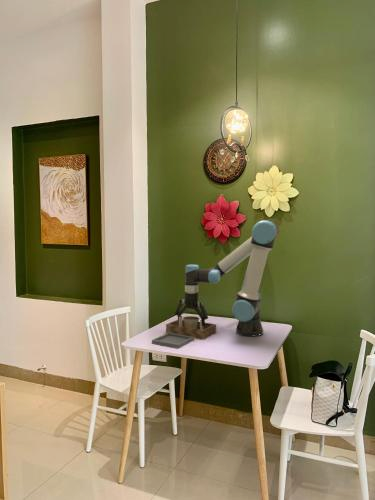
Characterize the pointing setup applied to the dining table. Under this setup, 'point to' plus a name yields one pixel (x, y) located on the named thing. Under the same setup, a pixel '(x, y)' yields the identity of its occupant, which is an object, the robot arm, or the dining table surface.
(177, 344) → the tray
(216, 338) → the dining table surface
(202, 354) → the dining table surface
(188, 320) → the flower pot
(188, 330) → the walled box
